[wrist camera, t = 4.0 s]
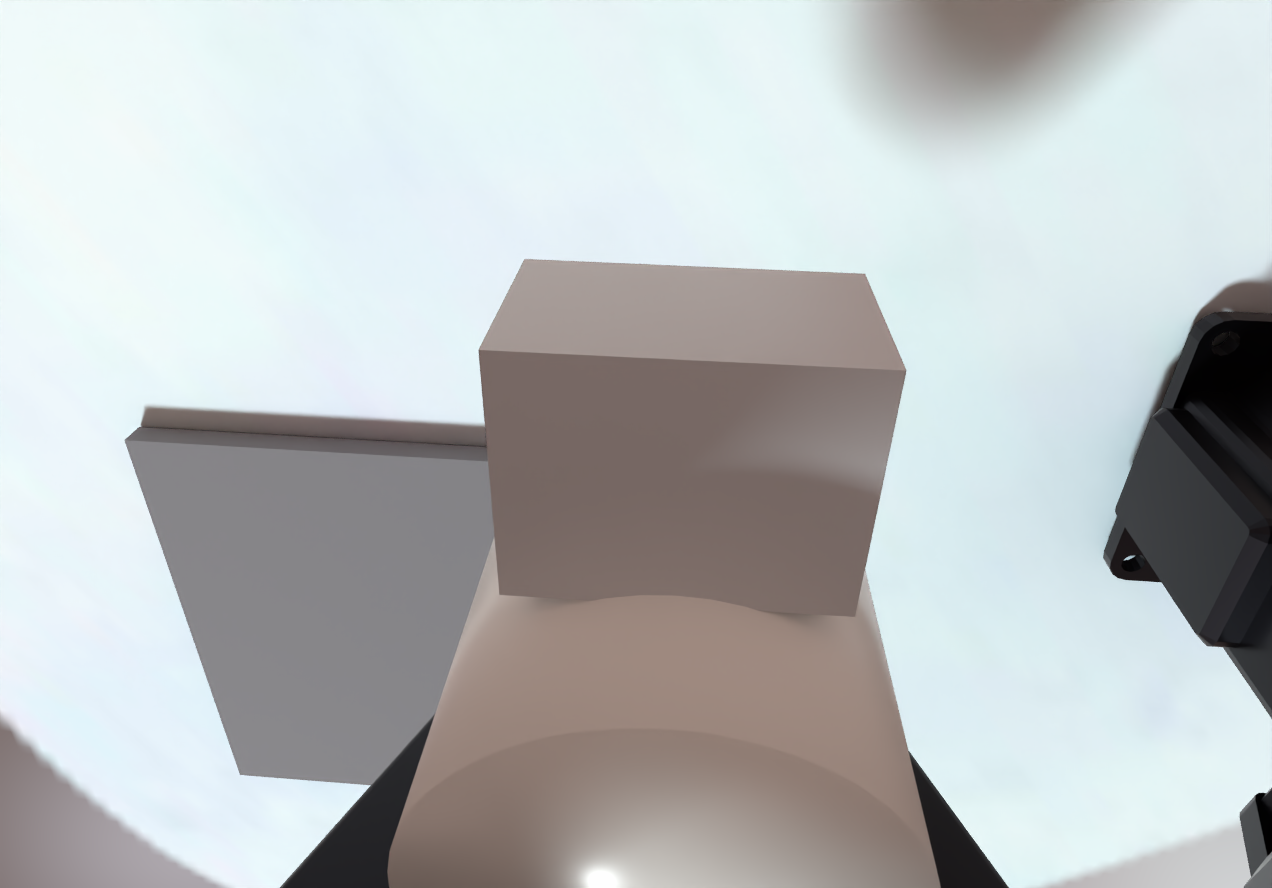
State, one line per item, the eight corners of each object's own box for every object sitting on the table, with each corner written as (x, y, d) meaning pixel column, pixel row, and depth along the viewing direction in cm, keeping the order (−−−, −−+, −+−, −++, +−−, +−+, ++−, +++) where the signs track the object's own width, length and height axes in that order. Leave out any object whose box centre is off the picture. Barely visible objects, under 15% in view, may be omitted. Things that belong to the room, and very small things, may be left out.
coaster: (557, 450, 20) (553, 465, 19) (568, 783, 26) (565, 800, 26) (139, 427, 21) (124, 440, 20) (248, 758, 27) (240, 774, 26)
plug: (801, 842, 12) (837, 1200, 9) (521, 821, 12) (451, 1164, 9) (924, 227, 8) (1103, 494, 4) (470, 208, 8) (287, 447, 4)
